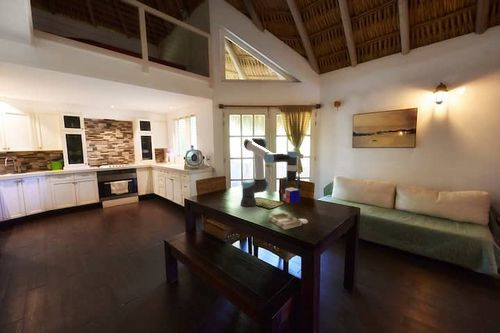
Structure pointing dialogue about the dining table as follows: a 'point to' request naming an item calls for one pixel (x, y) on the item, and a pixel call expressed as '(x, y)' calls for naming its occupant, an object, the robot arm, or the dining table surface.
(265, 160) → the robot arm
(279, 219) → the light wood tray
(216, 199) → the dining table surface
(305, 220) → the white round disc
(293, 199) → the puzzle cube
